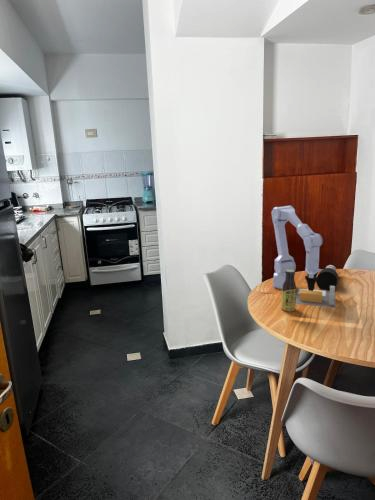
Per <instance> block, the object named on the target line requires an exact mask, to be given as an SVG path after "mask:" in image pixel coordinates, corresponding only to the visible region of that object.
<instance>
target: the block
mask: <svg viewBox="0 0 375 500" xmlns="http://www.w3.org/2000/svg"><path fill="white" fill-rule="evenodd" d="M300 301H309V302H319V303H322V292H320V291H308V290H300Z"/></svg>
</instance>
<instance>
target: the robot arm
mask: <svg viewBox="0 0 375 500" xmlns="http://www.w3.org/2000/svg"><path fill="white" fill-rule="evenodd" d="M270 213H271V219H272V224H273V228H274V235H275V241H276V248H277V254H278V256H277V257H276V258H274V267H273V268H274V273H273V279H272V281H273V282H272V283H273V284H272V289H279V290H282V288H283V283H284V281H285V278H286V273H285V272H286V270H288V269H291V270H294V271H295V272H296V267H297V265H296V262H295V259H294V257H293V256H291V255H290V254H289V248H288V247H289V246H288V240H287V234H286V226H285V225H286V224H287V222H289V223H290V224H291V225H293V226H294V227H295V228H296V233H297V234H298V235H299V236H300V238H301V239H302V240H303V246H304V248H305V249H304V250H305V253H306V254H305V268H304V270H305V272H306V275H304V279H305V280H306V284H307V289H308V290H309V291H313V290H315V286H316V285H315V284H317V283H316V280H317V279H318V277H317V276H318V274H319V272H321V270H322V269H321V268H319V267H320V266H319V265H320V264H319V263H320V247H321V246H322V245H323V237H322V235H321V234H320V233H316V232H314V231H313V230H312V228H310V226H309V225H308V224H307V223H303V222H302V221H301V219H300V218H299V217H298V216H297V214H296V210H295V208H294V206H292V205H285V206H275V207H273V208H272V210H271V212H270Z"/></svg>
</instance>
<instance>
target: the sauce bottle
mask: <svg viewBox="0 0 375 500" xmlns="http://www.w3.org/2000/svg"><path fill="white" fill-rule="evenodd" d="M285 273H286V278H285V281H284V283H283V288H282V289H281V304H280V306H281V307H280V308H281V310H282V311H283V312H286V313H288V312H289V313H290V312H291V313H292V312H295V310H296V306H297V304H296V295H297V284H296V282H295V274H296V270H295V271H294V270H291V269H288V270H286V272H285Z"/></svg>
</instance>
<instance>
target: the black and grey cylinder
mask: <svg viewBox="0 0 375 500" xmlns="http://www.w3.org/2000/svg"><path fill="white" fill-rule="evenodd" d="M316 277H318V279H317V280H316V283H315V284H316V286H317V287H318V288H319V290H322V291H330V286H335V288H336V287H337V284H338V282H339V274H338V272H337V269H336V266H334V265H332V264H329V265H327V266H326V267H325V268H323V269H321V272H318V274H317V276H316Z"/></svg>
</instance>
